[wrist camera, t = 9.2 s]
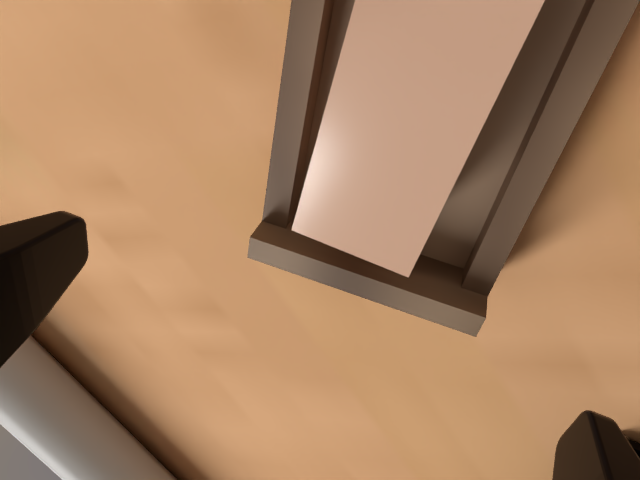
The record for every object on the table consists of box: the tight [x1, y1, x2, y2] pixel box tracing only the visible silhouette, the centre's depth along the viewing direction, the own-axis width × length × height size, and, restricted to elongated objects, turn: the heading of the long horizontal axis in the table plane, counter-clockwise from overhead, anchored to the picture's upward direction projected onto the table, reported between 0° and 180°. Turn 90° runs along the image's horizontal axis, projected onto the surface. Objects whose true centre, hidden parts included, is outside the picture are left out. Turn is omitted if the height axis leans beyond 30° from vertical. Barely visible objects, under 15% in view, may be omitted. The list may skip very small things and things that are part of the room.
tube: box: [0, 335, 177, 480], centre depth 36 cm, size 5×5×25 cm
